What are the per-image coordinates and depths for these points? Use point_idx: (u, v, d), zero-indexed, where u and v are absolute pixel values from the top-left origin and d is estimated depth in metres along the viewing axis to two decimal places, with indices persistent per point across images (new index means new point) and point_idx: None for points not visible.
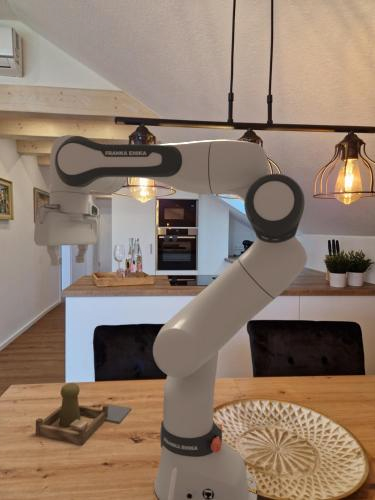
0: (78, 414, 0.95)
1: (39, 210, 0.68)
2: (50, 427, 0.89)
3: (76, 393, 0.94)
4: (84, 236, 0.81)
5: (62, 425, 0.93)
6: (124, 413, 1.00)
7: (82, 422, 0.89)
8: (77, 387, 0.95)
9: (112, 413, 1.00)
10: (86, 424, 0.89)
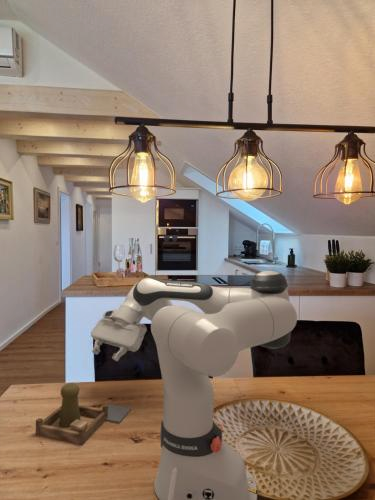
0: (78, 414, 0.95)
1: (146, 330, 1.06)
2: (50, 427, 0.89)
3: (76, 393, 0.94)
4: None
5: (62, 425, 0.93)
6: (124, 413, 1.00)
7: (82, 422, 0.89)
8: (77, 387, 0.95)
9: (112, 413, 1.00)
10: (86, 424, 0.89)
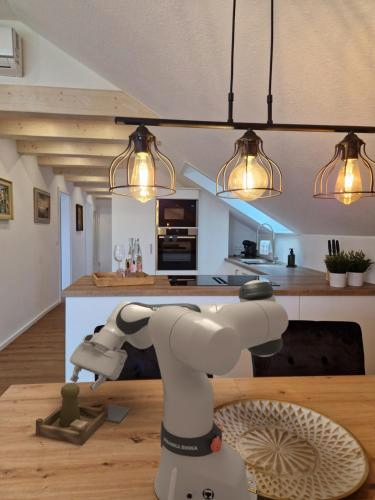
0: (78, 414, 0.95)
1: (126, 356, 1.01)
2: (50, 427, 0.89)
3: (76, 393, 0.94)
4: None
5: (62, 425, 0.93)
6: (124, 413, 1.00)
7: (82, 422, 0.89)
8: (77, 387, 0.95)
9: (112, 413, 1.00)
10: (86, 424, 0.89)
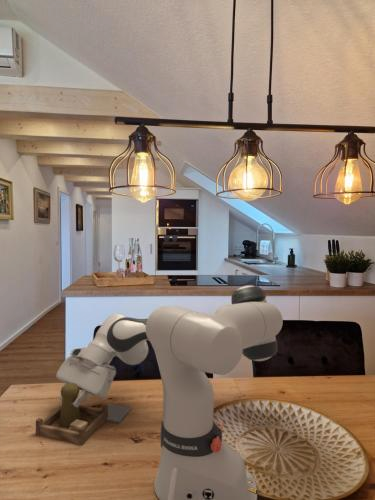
0: (78, 414, 0.95)
1: (115, 373, 0.96)
2: (50, 427, 0.89)
3: (76, 393, 0.94)
4: None
5: (62, 425, 0.93)
6: (124, 413, 1.00)
7: (82, 422, 0.89)
8: (77, 387, 0.95)
9: (112, 413, 1.00)
10: (86, 424, 0.89)
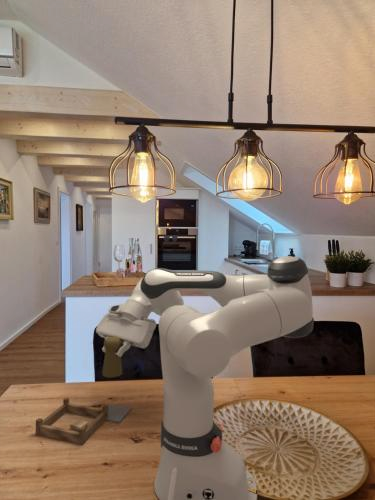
0: (120, 365, 0.99)
1: (155, 325, 1.00)
2: (50, 427, 0.89)
3: (119, 345, 0.98)
4: None
5: (106, 375, 0.97)
6: (124, 413, 1.00)
7: (82, 422, 0.89)
8: (119, 339, 0.99)
9: (112, 413, 1.00)
10: (86, 424, 0.89)
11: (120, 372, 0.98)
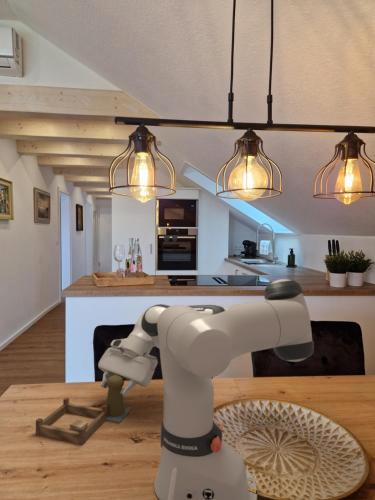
0: (123, 404, 1.00)
1: (157, 362, 1.00)
2: (50, 427, 0.89)
3: (122, 384, 0.99)
4: None
5: (109, 414, 0.98)
6: (124, 413, 1.00)
7: (82, 422, 0.89)
8: (122, 378, 1.00)
9: None
10: (86, 424, 0.89)
11: (123, 411, 1.00)
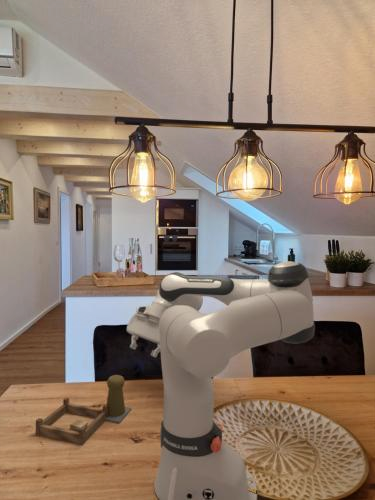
0: (123, 404, 1.00)
1: None
2: (50, 427, 0.89)
3: (122, 384, 0.99)
4: None
5: (109, 414, 0.98)
6: (124, 413, 1.00)
7: (82, 422, 0.89)
8: (122, 378, 1.00)
9: None
10: (86, 424, 0.89)
11: (123, 411, 1.00)
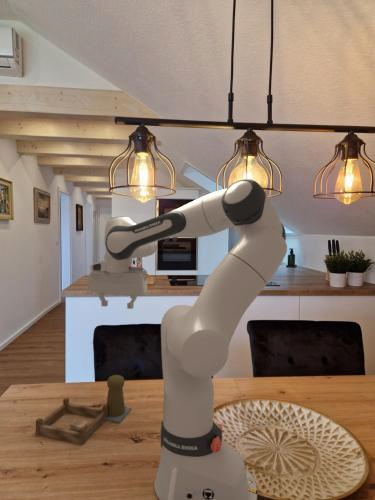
0: (123, 404, 1.00)
1: (146, 272, 1.06)
2: (50, 427, 0.89)
3: (122, 384, 0.99)
4: None
5: (109, 414, 0.98)
6: (124, 413, 1.00)
7: (82, 422, 0.89)
8: (122, 378, 1.00)
9: None
10: (86, 424, 0.89)
11: (123, 411, 1.00)
